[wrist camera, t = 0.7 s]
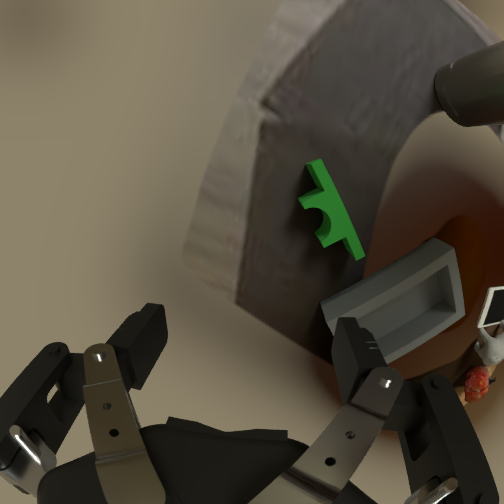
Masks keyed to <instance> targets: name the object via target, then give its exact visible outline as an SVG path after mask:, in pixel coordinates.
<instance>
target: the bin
mask: <svg viewBox="0 0 504 504" xmlns="http://www.w3.org/2000/svg"><path fill="white" fill-rule="evenodd" d="M320 304H321V307H322V310H323V313H324V316H325V319H326V322H327V324H328V326H329V328H330V330H331V332H332V334H333V336H334V334H335V329H336V324H337V320H338V318H339V317H355V318H356V320H357V322H358V324H359V326H360V328H366V329H367V330H368V331H370V332H371V333H372V334H373V336H374V338H375V340H376V343H377V344H378V346H379V348H380V351H381V353H382V355H383V357H384V359H385V361H386V363H387V364H388V363H390V362H392V361H393V360H395V359H397V358H399V357H401V356H403V355H404V354H406V353H408V352H409V351H411V350H413V349H414V348H416V347H418V346H419V345H421V344H423V343H424V342H426V341H427V340H429V339H431V338H432V337H434V336H435V335H437V334H438V333H440V332H441V331H443V330H444V329H446V328H447V327H449V326H450V325H452V324H453V323H454V322H456V321H457V320H459V319H460V318H461V317H463V316H464V315H465V309H464V301H463V293H462V287H461V281H460V275H459V269H458V264H457V259H456V254H455V250H454V248H453V247H452V246H450V245H448V244H446V243H444V242H442V241H440V240H438V239H437V238H435V237H433V238H431V239H430V240H428V241H427V242H425V243H424V244H422V245H420V246H419V247H417V248H416V249H414V250H412V251H411V252H409V253H408V254H406V255H404V256H403V257H401V258H399V259H398V260H396V261H394V262H392V263H391V264H389V265H388V266H386V267H384V268H382V269H380V270H379V271H377V272H375V273H374V274H372V275H370V276H368V277H366V278H365V279H363V280H361V281H359V282H357V283H355V284H354V285H352V286H350V287H348V288H346V289H344V290H342V291H341V292H339V293H337V294H335V295H333V296H331V297H329V298H327V299H325V300H323V301H321V302H320Z"/></svg>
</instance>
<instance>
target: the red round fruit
mask: <svg viewBox="0 0 504 504" xmlns="http://www.w3.org/2000/svg"><path fill="white" fill-rule="evenodd" d="M495 379H496V378H495ZM495 379H493V380H491V379H490V378H489V374H488V370H487V369H486V368H484V367H482V366H474V367H472V368H471V369H469V370H468V371H467V373H466V380H465V385H460V386H454V387H461V386H465V390H464V391H465V401H467V402H469V403H473V402H477V401H479V400H480V399H481V398H483V397H484V396H485V394H486V392H487V391H488V389H489V385H490V384H491V383H492V382H494V381H495Z"/></svg>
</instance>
